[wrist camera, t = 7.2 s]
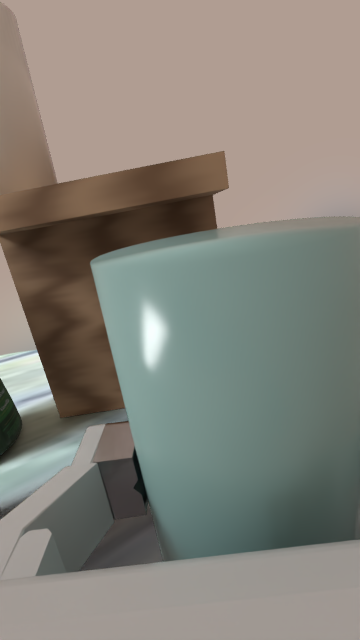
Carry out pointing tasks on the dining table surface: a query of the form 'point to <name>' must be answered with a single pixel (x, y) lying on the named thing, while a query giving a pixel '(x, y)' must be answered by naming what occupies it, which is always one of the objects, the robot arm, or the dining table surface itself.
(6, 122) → the white glossy cylinder
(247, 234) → the sage green cylinder
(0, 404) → the coffee jar
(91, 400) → the walnut counter
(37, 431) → the dining table surface
